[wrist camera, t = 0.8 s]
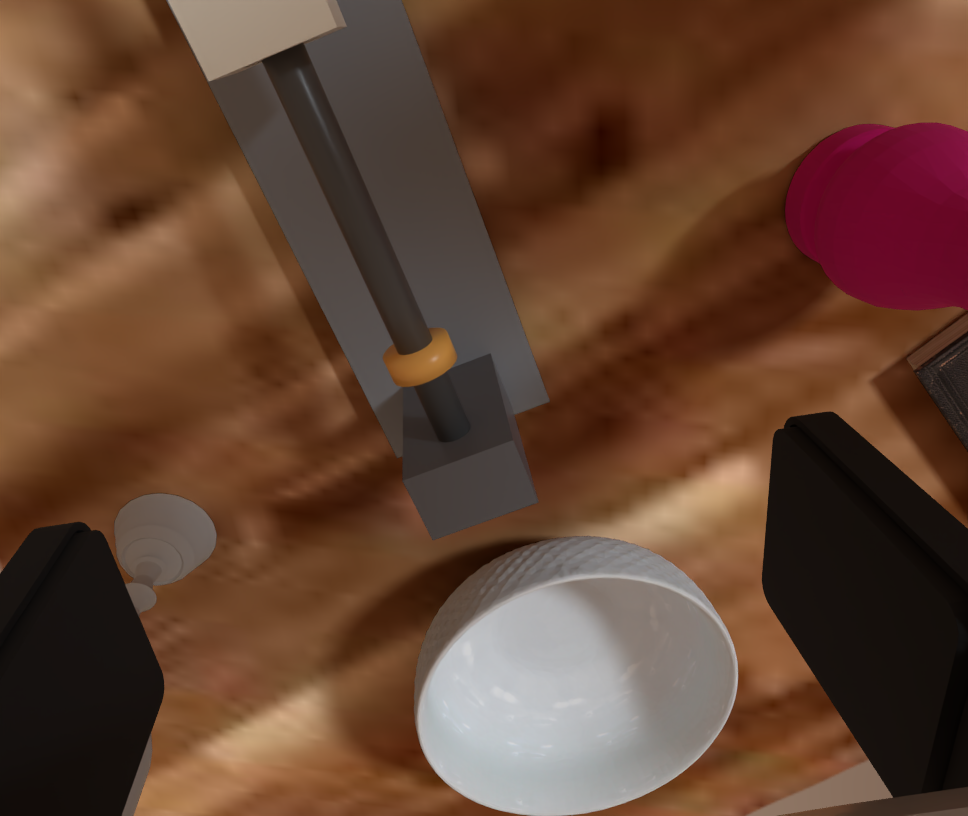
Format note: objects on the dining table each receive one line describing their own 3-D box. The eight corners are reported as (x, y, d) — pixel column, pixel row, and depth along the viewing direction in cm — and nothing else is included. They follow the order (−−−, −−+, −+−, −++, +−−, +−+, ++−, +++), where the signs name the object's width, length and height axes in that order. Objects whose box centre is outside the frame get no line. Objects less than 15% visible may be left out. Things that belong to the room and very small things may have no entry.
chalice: (207, 463, 37) (58, 793, 21) (257, 566, 40) (161, 922, 24) (66, 498, 37) (-187, 853, 21) (127, 599, 40) (-53, 973, 25)
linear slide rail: (279, -330, 24) (215, -510, 16) (546, 392, 37) (586, 496, 29) (59, -227, 25) (-110, -349, 17) (397, 448, 38) (395, 564, 30)
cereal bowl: (648, 722, 49) (684, 824, 43) (394, 708, 46) (392, 815, 40) (733, 508, 42) (791, 594, 35) (437, 476, 39) (444, 563, 33)
